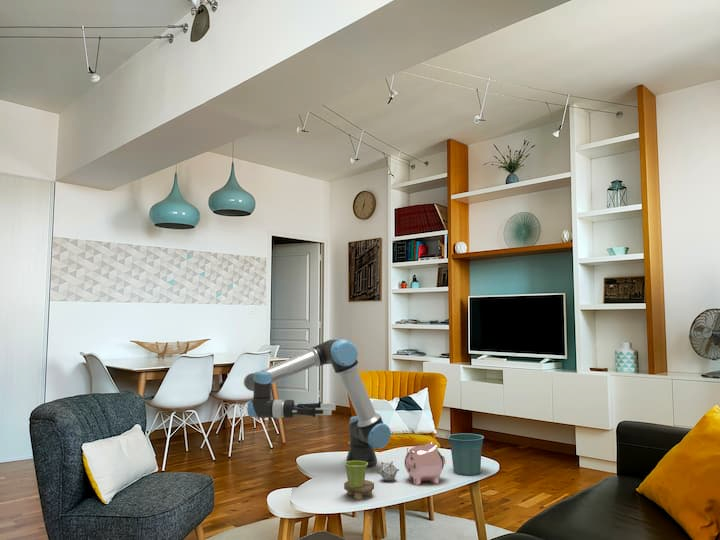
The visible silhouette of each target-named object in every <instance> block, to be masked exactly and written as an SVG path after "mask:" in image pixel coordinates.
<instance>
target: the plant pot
mask: <svg viewBox="0 0 720 540" xmlns="http://www.w3.org/2000/svg"><path fill="white" fill-rule="evenodd" d="M343 464H344V466H345V471H346V478H347V479H346V480H347V481H348V485H349V487H352V488H356V487H359V488H361V487H363V486H364V480H366V471H367V468H368V467H367V465H368V463H367V462H364V461H348V462H346V461H345V462H344V463H343Z"/></svg>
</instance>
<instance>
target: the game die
mask: <svg viewBox="0 0 720 540" xmlns="http://www.w3.org/2000/svg"><path fill="white" fill-rule="evenodd" d="M393 462H394V461H391V462H383V461H381V467H380V470H379V472H377V474H378V475H380V476H381V478H382V479H383V483H385V482H386V481H394V482H396V476H397V473H398V471H400V469H398V468H397V467H396V466H395V465H394V463H393Z"/></svg>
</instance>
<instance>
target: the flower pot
mask: <svg viewBox="0 0 720 540" xmlns="http://www.w3.org/2000/svg"><path fill="white" fill-rule="evenodd" d="M447 439H448V440H449V446H450V450H451V451H450V452H451V459H452V460H451V461H452V468H453V473H454V474H456V473H457V475H465V476H476V475H479V474H480V473H481V469H482V468H481V466H482V465H481V463H482V462H481V461H482V447H483V441H484V439H485V437H484V435H482V434H476V433H467V432H466V433H451V434H449V435H448V436H447Z"/></svg>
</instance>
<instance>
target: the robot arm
mask: <svg viewBox="0 0 720 540" xmlns="http://www.w3.org/2000/svg"><path fill="white" fill-rule="evenodd" d="M358 356H359V355H358V349H357V346H356V345H355V344H354V343H353V342H352V341H349V340H347V339H329V340H326V341H323V342H321V343H319V344H317V345H316V346H312V347H310V349H309V351H306V352H303V353H300V354H298V355H297V356H293V357H292V358H289V359H287V360H284V361H282V362H279V363H276V364H274V365H272V366H269V367H266V368H264V369H262V370H259V371H255V372H254V373H253V372H252V373H249V374H247V375H245V377H244V379H243V386H244V388H246V390H248V391H251V392H253V396H252V397H253V399H249V400H248V402H247V409H246V411H247V415H248V416H249V417H250V418H257V419H262V418H263V419H266V418H267V419H271V418H272V419H274V418H276V420H279V418H280V419H281V418H282V419H283V418H285V419H293V418H294V416H295V415H301V416H311V417H313V418H315V417H316V416H332V411H336V407H337V405H336V404H337V403H322V401H318V402H313V403H298V404H297V405H296V404H295V400H293V399H271V398H272V385H273V384H276V383H277V382H280V381H282V380H285V379H287V378H289V377H291V376H295V375H297V374H299V373H301V372H303V371H306V370H309V369H311V368H312V367H317V368H318V367H321V366H325V365H331V366H332V368H333V370H334V373H336V374H338V376H340V379H341V381H342V383H343V385H344V388H345V390H346V393H347V395H348V398H349V399H350V402H351V405H352V406H353V409H354V412H355V414H356V415H354V416H351V417H349V418H350V419H349V424H348V425H349V449H348V452H347V456H346V459H345V462H348V461H364V462H367V463H368V465H367V468H372V467H375V466H376V464H378V458H377V455H376V452H375V450H374V449H383V448H384V447H386V446H387V445H388V444H389V442H390V439H391V436H392V432H391V429H390V427H389V426H388V425H387V424H386V423H384V420H383V418H382V416H381V414H380V413H377V412H376V411H375V407H374V406H373V403H372V401H371V399H370V396H369V393H368V391H367V389H366V387H365V383H364V381H363V379H362V377H361V374H360V372H359V369H358V368H357V367H358V365H359V361H358V359H357V358H358ZM371 466H372V467H371Z"/></svg>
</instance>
